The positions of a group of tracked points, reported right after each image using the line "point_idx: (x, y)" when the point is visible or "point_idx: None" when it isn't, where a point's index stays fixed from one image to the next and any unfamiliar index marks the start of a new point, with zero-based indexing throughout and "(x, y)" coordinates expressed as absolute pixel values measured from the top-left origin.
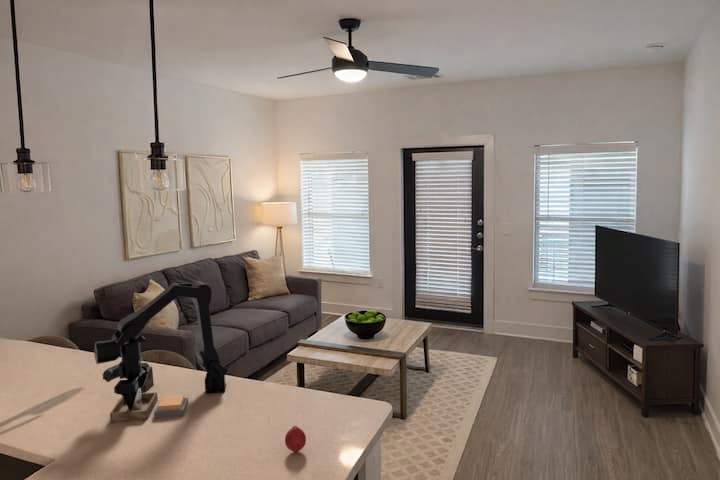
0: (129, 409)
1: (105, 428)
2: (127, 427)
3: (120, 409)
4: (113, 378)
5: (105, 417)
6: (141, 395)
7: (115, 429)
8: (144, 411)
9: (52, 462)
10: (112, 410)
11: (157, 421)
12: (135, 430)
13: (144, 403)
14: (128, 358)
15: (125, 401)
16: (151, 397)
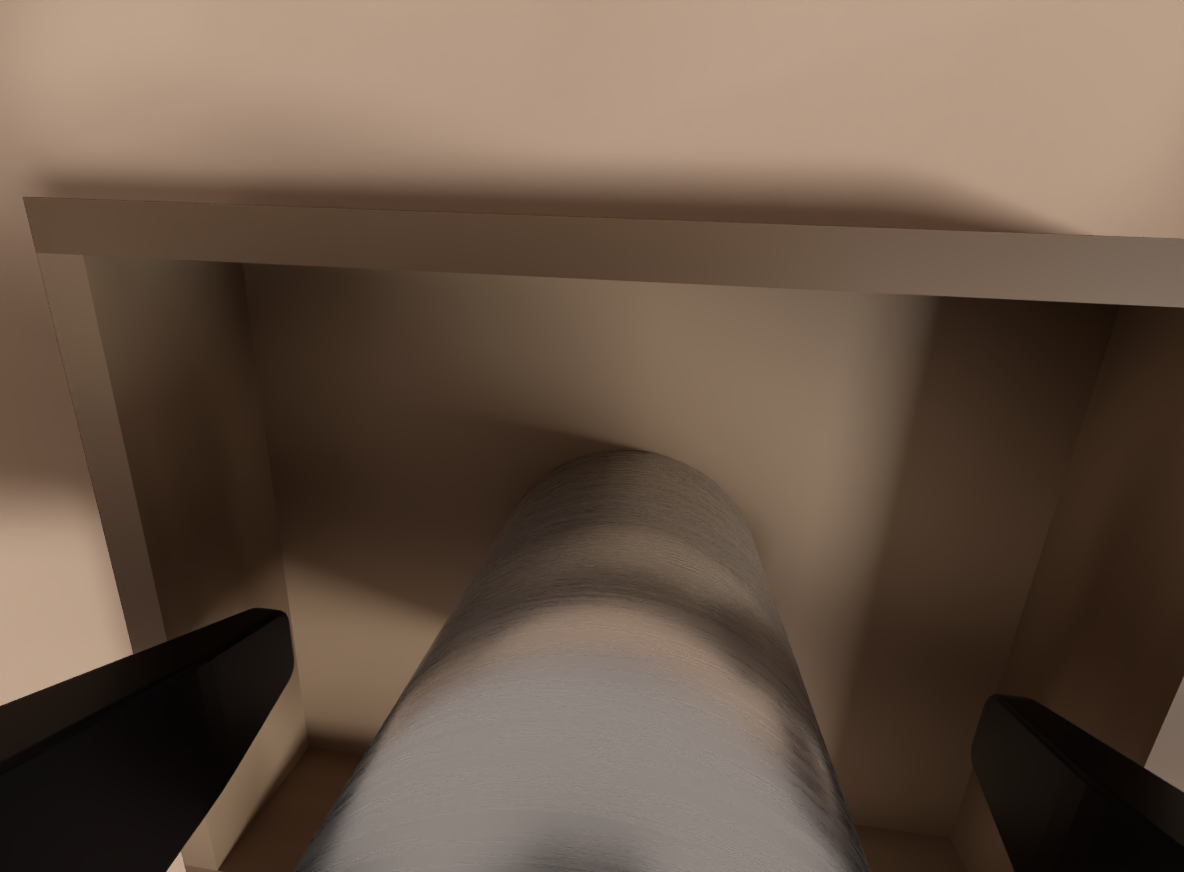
0: (507, 524)
1: (28, 186)
2: (86, 531)
3: (704, 287)
4: None
5: (457, 20)
6: (1106, 733)
7: (16, 371)
8: (196, 845)
9: None
10: (200, 212)
11: None
12: (20, 639)
13: (851, 692)
14: None
15: (1131, 310)
16: (996, 839)
